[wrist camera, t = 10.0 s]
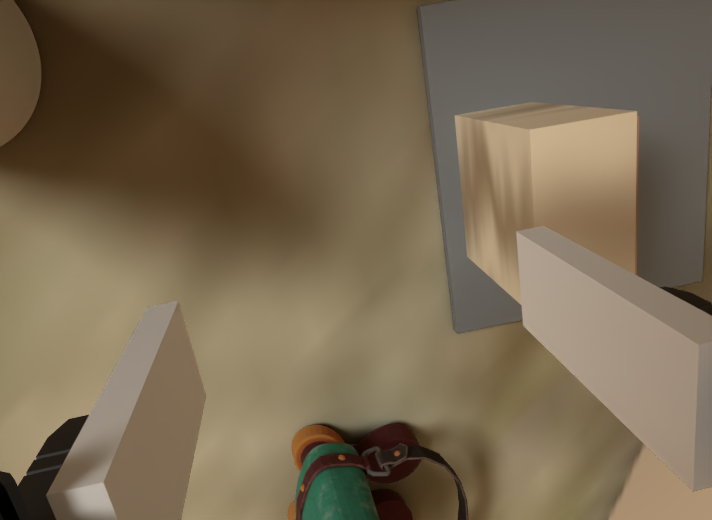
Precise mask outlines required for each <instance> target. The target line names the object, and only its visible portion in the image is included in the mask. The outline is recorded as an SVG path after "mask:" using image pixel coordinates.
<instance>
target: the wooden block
mask: <svg viewBox="0 0 712 520" xmlns="http://www.w3.org/2000/svg"><path fill="white" fill-rule="evenodd" d="M455 126H456V137H457V148H458V160H459V171H460V182H461V193H462V204H463V216H464V227H465V238H466V249H467V257H468V258H469V259H470V260H471V261H473V262H474V263H475V264H476V265H477V266H478V267H479V268H480V269H481V270H483V271H484V272H485V273H486V274H487V275H488V276H489V277H490V278H491V279H493V280H494V281H495V282H496V283H497V284H498V285H499V286H500V287H501V288H503V289H504V290H505V291H506V292H507V293H508V294H509V295H510V296H512V297H513V298H514V299H515V300H516V301H517V302H518V303H519V304H520V305H522V304H521V291H520V277H519V264H518V250H517V237H516V231H521V230H525V229H530V228H535V227H540V226H545V227H547V228H549V229H551V230H553V231H555V232H557V233H558V234H560V235H562V236H564V237H566V238H568V239H570V240H571V241H573V242H575V243H577V244H579V245H581V246H583V247H585V248H586V249H588V250H590V251H592V252H594V253H596V254H598V255H599V256H601V257H603V258H605V259H607V260H609V261H611V262H612V263H614V264H616V265H618V266H620V267H622V268H624V269H625V270H627V271H629V272H631V273H633V274H635V275H637V220H638V154H639V116H637V111H631V110H619V109H607V108H595V107H584V106H572V105H560V104H548V103H537V102H530V103H524V104H518V105H512V106H507V107H501V108H495V109H489V110H483V111H477V112H471V113H465V114H459V115H455Z"/></svg>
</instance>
